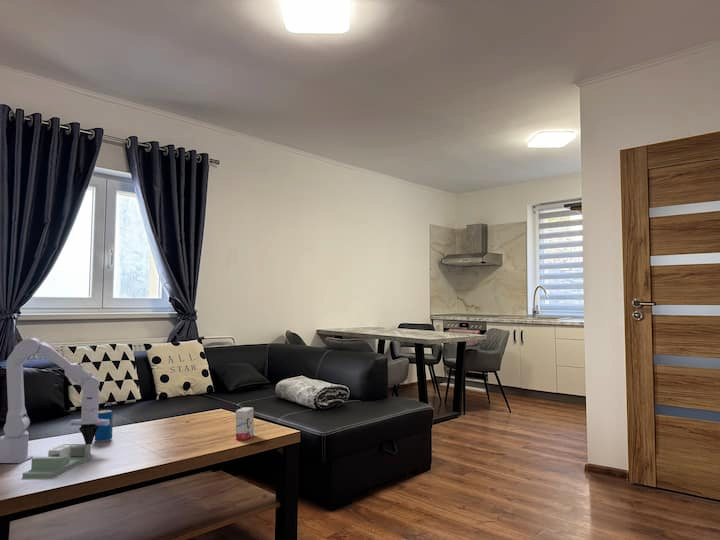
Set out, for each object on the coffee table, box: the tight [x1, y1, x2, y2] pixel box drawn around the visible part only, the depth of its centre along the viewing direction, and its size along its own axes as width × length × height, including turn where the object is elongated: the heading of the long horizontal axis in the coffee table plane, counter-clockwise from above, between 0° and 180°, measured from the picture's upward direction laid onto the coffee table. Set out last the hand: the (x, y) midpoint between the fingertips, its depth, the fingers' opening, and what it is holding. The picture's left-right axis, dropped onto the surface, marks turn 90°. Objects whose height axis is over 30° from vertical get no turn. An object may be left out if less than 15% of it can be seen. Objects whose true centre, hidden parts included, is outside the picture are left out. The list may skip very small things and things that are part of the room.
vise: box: [21, 454, 90, 479], centre depth 168 cm, size 10×20×5 cm, turn 178°
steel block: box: [47, 445, 71, 463], centre depth 169 cm, size 4×6×5 cm, turn 178°
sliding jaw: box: [60, 443, 92, 456], centre depth 177 cm, size 10×4×4 cm, turn 88°
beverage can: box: [94, 409, 114, 443], centre depth 203 cm, size 6×6×12 cm
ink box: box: [235, 406, 255, 441], centre depth 206 cm, size 9×5×12 cm, turn 171°
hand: (88, 444), depth 186 cm, fingers closed
